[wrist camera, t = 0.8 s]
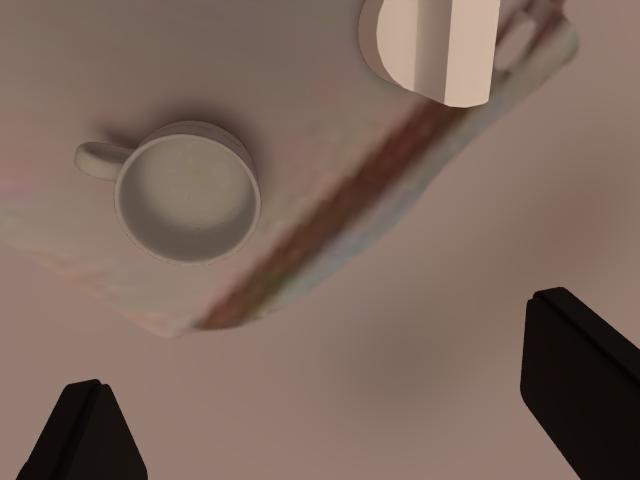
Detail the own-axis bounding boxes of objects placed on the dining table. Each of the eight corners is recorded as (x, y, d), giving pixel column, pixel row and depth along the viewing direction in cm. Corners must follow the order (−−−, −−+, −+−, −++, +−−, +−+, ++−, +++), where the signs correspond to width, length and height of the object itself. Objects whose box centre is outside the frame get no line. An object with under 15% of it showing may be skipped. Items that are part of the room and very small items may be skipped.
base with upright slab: (455, 82, 41) (530, 103, 30) (357, 88, 40) (399, 111, 29) (466, -34, 37) (555, -57, 27) (357, -31, 36) (405, -54, 26)
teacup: (281, 159, 42) (289, 187, 35) (217, 249, 45) (212, 292, 38) (139, 62, 37) (113, 72, 30) (77, 170, 40) (40, 203, 32)
